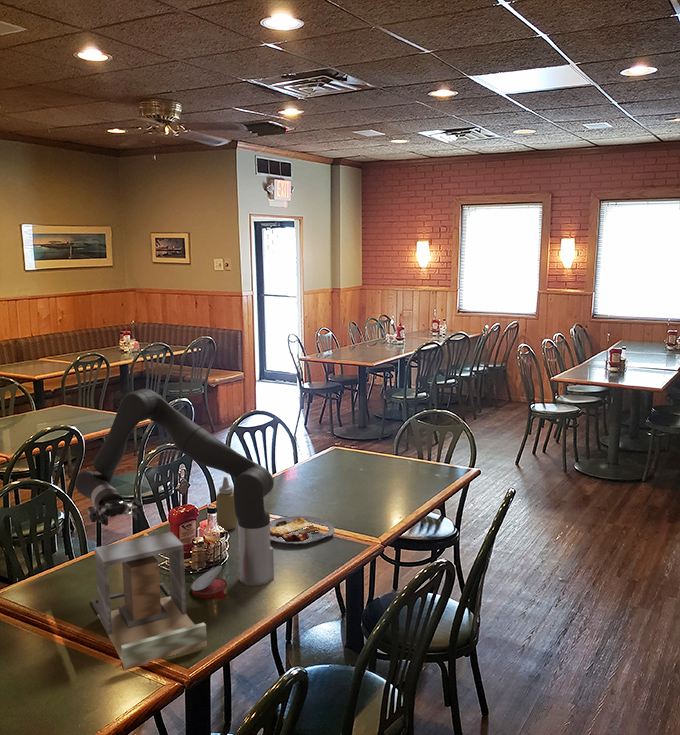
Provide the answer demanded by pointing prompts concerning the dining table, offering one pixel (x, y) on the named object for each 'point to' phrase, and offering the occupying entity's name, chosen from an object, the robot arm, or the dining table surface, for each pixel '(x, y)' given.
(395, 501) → the dining table surface
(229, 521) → the squeeze bottle
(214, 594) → the canned food
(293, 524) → the food plate
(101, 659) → the dining table surface
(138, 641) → the tunnel
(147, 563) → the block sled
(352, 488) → the dining table surface
